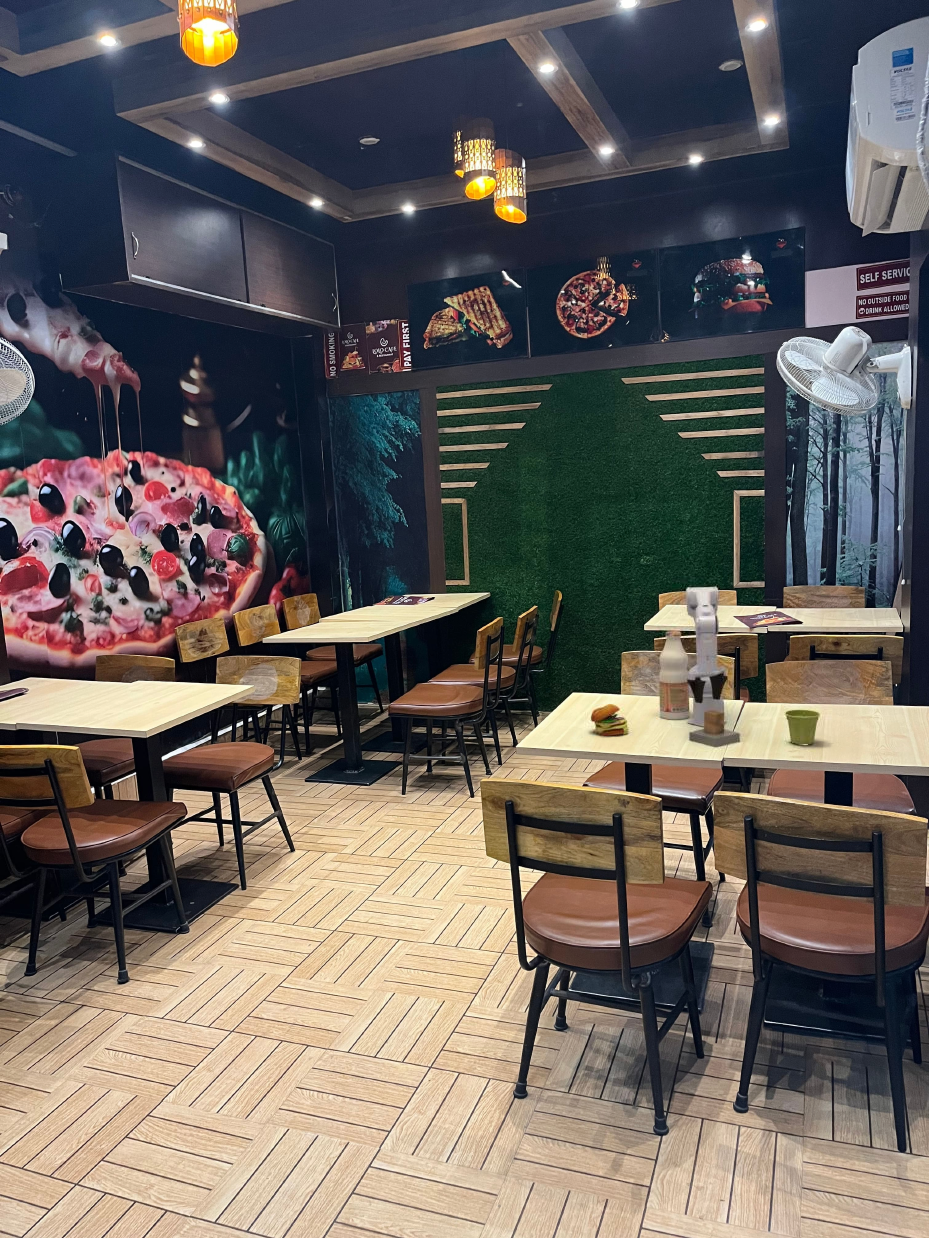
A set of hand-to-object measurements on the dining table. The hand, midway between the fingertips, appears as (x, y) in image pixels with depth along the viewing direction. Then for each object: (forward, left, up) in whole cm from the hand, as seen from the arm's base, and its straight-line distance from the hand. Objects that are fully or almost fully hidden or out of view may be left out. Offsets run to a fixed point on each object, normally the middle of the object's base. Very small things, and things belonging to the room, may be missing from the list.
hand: (707, 701), depth 267 cm
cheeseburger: (+19, -22, -11) cm, 31 cm away
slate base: (+4, +6, -11) cm, 13 cm away
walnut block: (+4, +5, -8) cm, 10 cm away
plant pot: (-12, +24, -11) cm, 29 cm away
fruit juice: (-10, -23, -11) cm, 28 cm away
